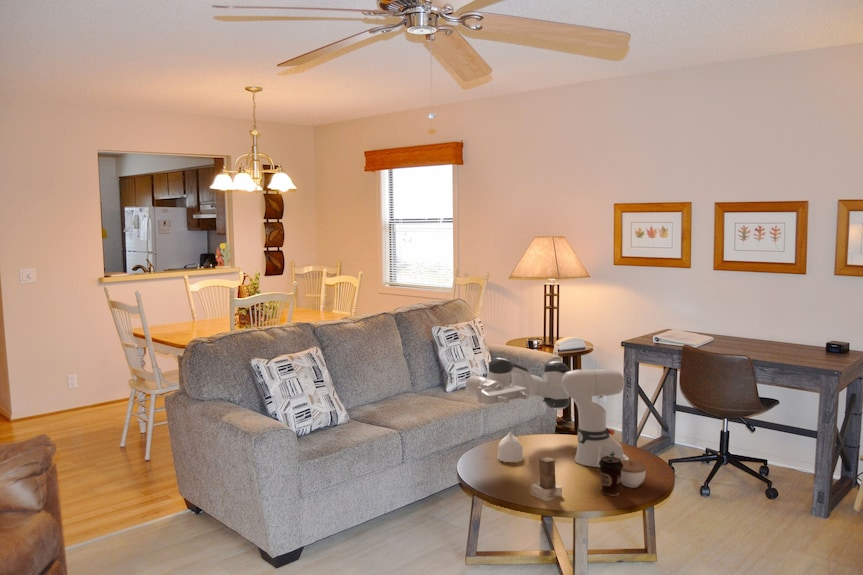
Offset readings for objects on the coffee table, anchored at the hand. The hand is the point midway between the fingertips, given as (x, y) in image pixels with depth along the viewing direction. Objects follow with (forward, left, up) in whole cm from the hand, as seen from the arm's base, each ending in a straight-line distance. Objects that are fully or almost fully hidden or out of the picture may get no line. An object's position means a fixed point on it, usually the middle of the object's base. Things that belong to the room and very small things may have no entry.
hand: (516, 398), depth 264 cm
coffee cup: (-26, +25, -32) cm, 48 cm away
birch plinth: (-3, +19, -32) cm, 37 cm away
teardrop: (-7, -21, -32) cm, 39 cm away
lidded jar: (-38, +21, -32) cm, 54 cm away
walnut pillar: (-3, +19, -28) cm, 34 cm away
